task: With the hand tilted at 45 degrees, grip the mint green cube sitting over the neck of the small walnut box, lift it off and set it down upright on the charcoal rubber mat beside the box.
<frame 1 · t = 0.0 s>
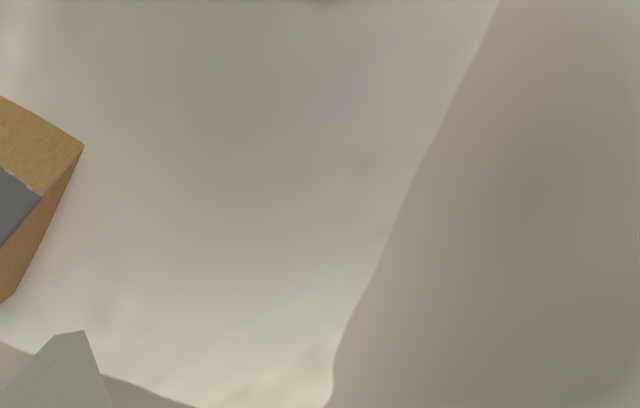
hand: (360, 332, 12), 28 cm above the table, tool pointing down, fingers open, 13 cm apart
sandwich container: (3, 196, 41), on the table
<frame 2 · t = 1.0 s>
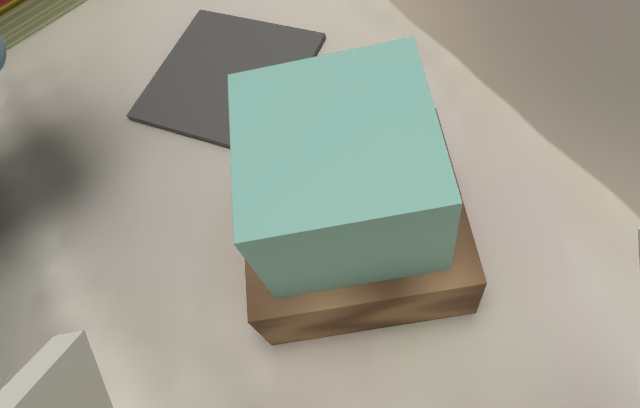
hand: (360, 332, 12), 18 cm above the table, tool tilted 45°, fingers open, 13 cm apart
mat: (228, 78, 41), on the table
mint green cube: (349, 207, 28), point 5 cm above the table, touching walnut box
walnut box: (357, 243, 33), on the table
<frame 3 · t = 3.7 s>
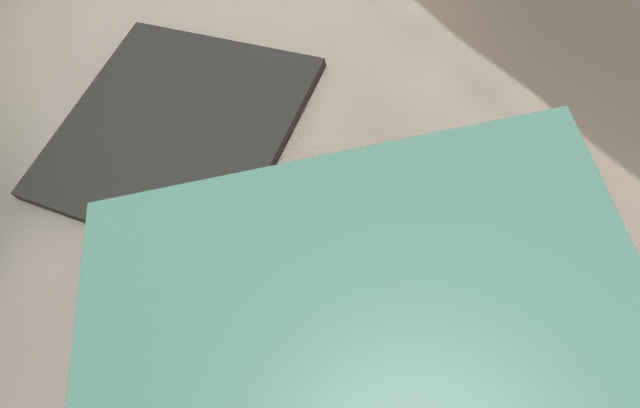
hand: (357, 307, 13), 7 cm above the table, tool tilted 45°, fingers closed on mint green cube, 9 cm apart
mat: (174, 130, 26), on the table
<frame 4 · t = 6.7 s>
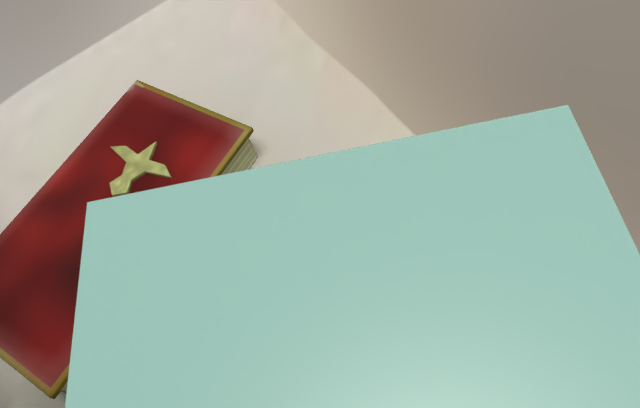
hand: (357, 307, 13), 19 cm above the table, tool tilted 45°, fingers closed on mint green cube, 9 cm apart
hardcover book: (127, 237, 39), on the table
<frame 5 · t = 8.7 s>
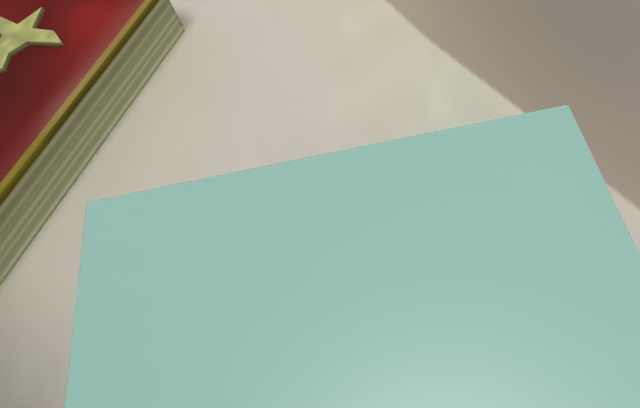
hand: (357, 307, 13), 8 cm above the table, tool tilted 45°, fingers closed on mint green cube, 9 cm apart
hardcover book: (19, 144, 29), on the table
when the fingers open (4 cm above the table, at t = 10.1 s): mint green cube drops 2 cm, resting on mat.
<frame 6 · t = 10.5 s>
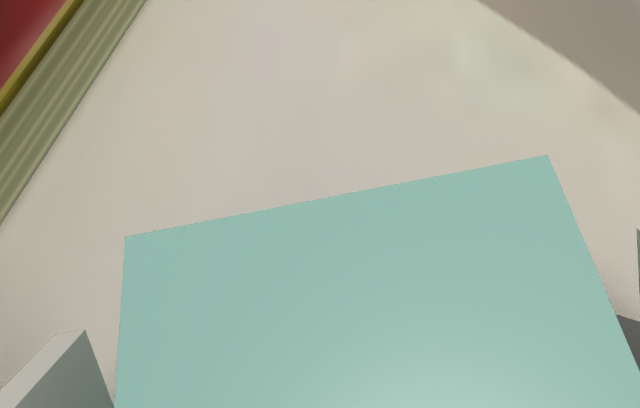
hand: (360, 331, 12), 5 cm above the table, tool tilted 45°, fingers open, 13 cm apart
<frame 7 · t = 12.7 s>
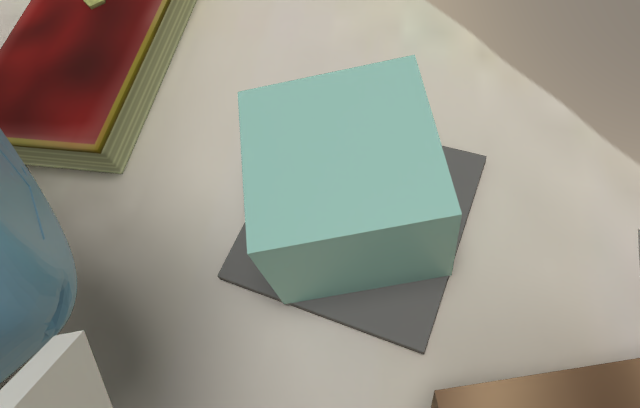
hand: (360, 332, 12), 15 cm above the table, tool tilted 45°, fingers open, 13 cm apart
mat: (354, 219, 30), on the table
mint green cube: (353, 215, 29), resting on mat
hardcover book: (110, 63, 41), on the table
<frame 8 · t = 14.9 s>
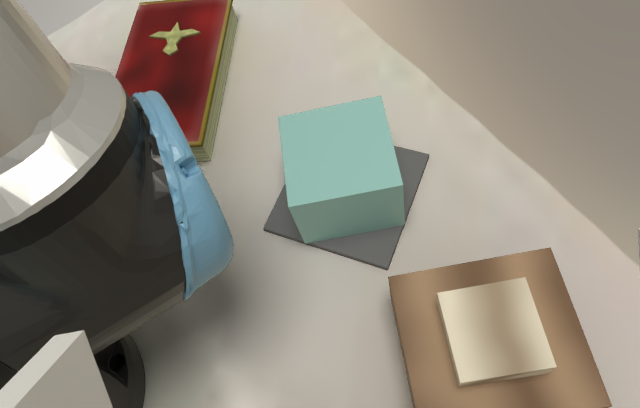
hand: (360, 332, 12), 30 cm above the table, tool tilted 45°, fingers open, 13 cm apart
mat: (347, 193, 48), on the table
mint green cube: (346, 191, 48), resting on mat
walnut box: (481, 351, 40), on the table
hardcover book: (180, 91, 59), on the table
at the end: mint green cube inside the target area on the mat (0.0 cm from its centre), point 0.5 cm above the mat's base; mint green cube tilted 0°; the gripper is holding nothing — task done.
